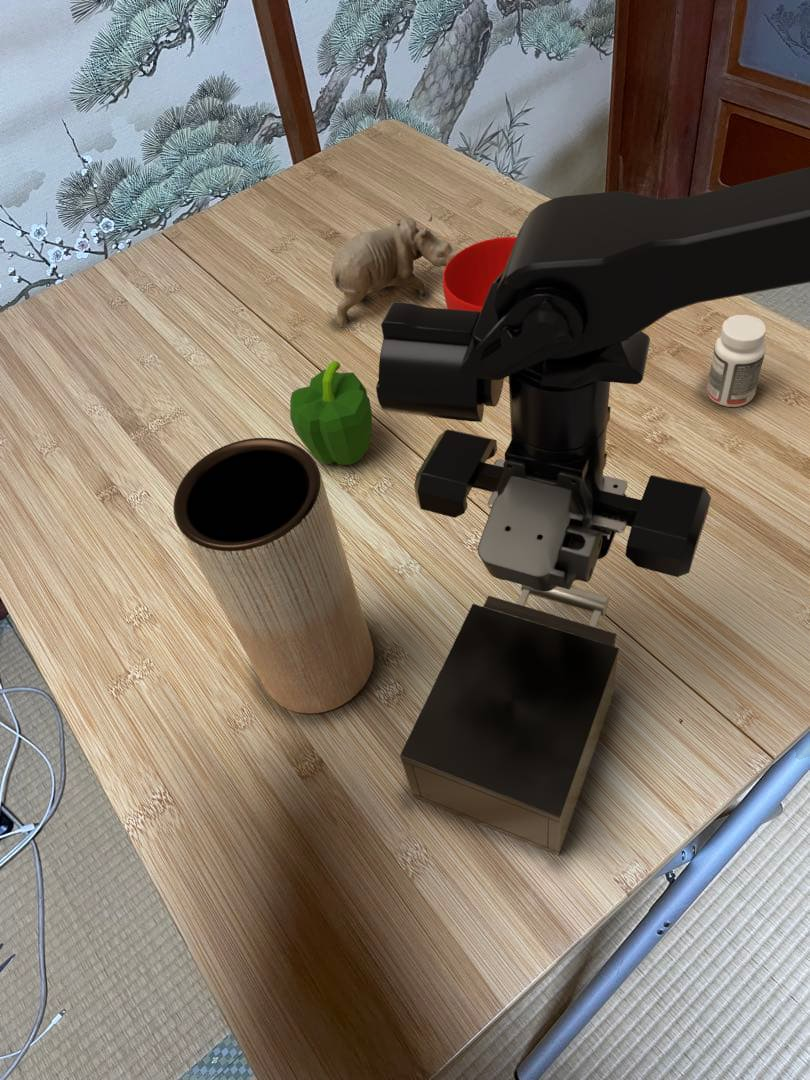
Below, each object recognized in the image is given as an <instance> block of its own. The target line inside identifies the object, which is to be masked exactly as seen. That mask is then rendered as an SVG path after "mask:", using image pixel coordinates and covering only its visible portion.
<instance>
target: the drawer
mask: <svg viewBox="0 0 810 1080" xmlns="http://www.w3.org/2000/svg"><path fill="white" fill-rule="evenodd" d="M520 592H521V593H520V595H519V597H518V600H517V601H516V602H512V601H508V600H505V599H501V598H499V597H495V596H491V595H487V598H486V600H485V602H484V604H483V606H482V607H485V608H488V609H492V610H495V611H498V612H502V613H505V614H508V615H511V616H515V617H518V618H521V619H525V620H528V621H531V622H534V623H538V624H541V625H544V626H548V627H551V628H554V629H557V630H561V631H564V632H567V633H571V634H574V635H577V636H580V637H584V638H587V639H590V640H594V641H597V642H600V643H603V644H607V645H610V646H613V647H616V644H617V643H616V642H617V637H618V636H617V633H616V632H612V631H609V630H605V629H602V628H599V627H598V624H599V622H600V619H601V617H604V616H605V615H606V613H607V610H608V607H609V604H610V603H609V602H610V597H609V596H608V595H604V594H600V593H596V592H594V591H590V590H586V589H582V588H579V587H575V586H573V585H572V586H571V588H570V590H569V589H565V588H562V587H558V586H557V587H556V588H554V589H553V590H550V591H539V590H536V589H533V588H531V587H528V586H524V585H521V584H520ZM530 596H533V597H537V598H539V599H540V598H541V599H543V600H547V601H550V602H554V603H557V604H561V605H565V606H567V607H571V608H575V609H578V610H581V611H585V612H588V613H592V614H591V617H590V619H589V622H588V624H585V623H582V622H578V621H576V620H572V619H569V618H566V617H562V616H559V615H555V614H551V613H550V612H549V613H548V612H545V611H542V610H538V609H535V608H532V607H528V606H526V604H527V602H528V600H529V597H530Z"/></svg>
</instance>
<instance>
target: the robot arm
mask: <svg viewBox="0 0 810 1080" xmlns="http://www.w3.org/2000/svg"><path fill="white" fill-rule="evenodd" d="M516 237H517V238H516V241H515V243H514V246H513V249H512V251H511V254H510V256H509V259H508V262H507V264H506V267H505V269H504V270H503V271H502V272H501V274H500V275H499V276H498V277H497V278H496V279H495V281H494V282H493V283H492V285H491V287H490V290H489V292H488V295H487V297H486V300H485V302H484V305H483V308H482V310H481V313H480V312H479V311H467V310H453V309H447V308H441V307H440V308H439V307H438V308H437V307H428V306H427V307H426V306H422V305H419V304H415V303H410V302H397V301H393V302H391V304H390V306H389V308H388V309H387V311H386V313H385V314H384V315H385V316H384V317H383V320H382V321H381V324H380V327H381V331H382V343H381V348H380V349H381V350H380V353H379V354H380V355H379V362H378V380H377V383H376V386H375V391H376V398H377V400H378V404H379V406H380V408H381V410H383V411H384V412H386V413H392V414H393V413H394V414H402V415H412V416H418V417H419V416H420V417H427V418H428V417H429V418H438V419H446V420H455V421H463V422H472V423H475V422H476V423H482V422H483V420H484V419H483V418H484V411H485V406H486V407H494V408H495V407H497V406H498V404H499V401H500V399H501V395H502V393H503V388H504V382H505V378H507V377H508V386H509V387H508V390H509V413H510V436H511V437H510V438H511V440H510V442H509V444H508V445H507V448H506V449H505V452H504V459H501V458H499V459H498V458H497V459H496V460H495V461H494V463H492V464H491V463H488V462H487V461H488V460H490V459H492V458H493V457H495V455H496V454H497V451H498V441H497V439H494V438H489V437H486V436H481V435H477V434H473V433H468V432H464V431H458V430H454V429H446V430H444V431H443V432H441V434H439V435H438V436H437V438H436V440H435V442H434V444H433V445H432V446H431V449H430V450H429V452H428V454H427V456H426V457H425V459H424V460H423V463H422V464H421V465H420V467H419V470H418V471H417V472H416V475H415V479H414V484H413V488H414V493H415V500H416V502H417V505H418V506H419V508H420V510H423V511H427V512H430V513H434V514H439V515H443V516H445V517H448V518H449V517H450V518H454V519H456V518H458V517H460V516H462V515H464V514H465V513H466V511H467V509H468V499H467V498H468V496H469V495H470V493H471V491H472V488H473V489H477V490H478V489H479V490H483V491H486V492H490V493H491V495H490V497H489V499H488V500H487V507H488V509H490V511H489V514H488V516H487V520H486V523H485V526H484V528H483V531H482V534H481V537H480V539H479V542H478V545H477V554H478V557H479V558H480V560H481V562H482V563H483V565H484V567H485V569H486V570H487V572H488V573H489V574H490V576H492V577H493V578H495V579H498V580H501V581H507V582H511V583H514V584H517V585H520V586H521V585H524V586H528V587H531V588H533V589H536V590H539V591H550V590H553V589H554V588H556V587H557V586H558V587H562V588H565V589H569V590H570V588H571V586H572V587H573V583H574V582H575V581H581V582H585V583H589V582H590V581H591V579H592V576H593V574H594V571H595V567H596V564H597V562H598V560H601V559H603V558H606V556H607V555H608V554H609V552H610V549H611V547H612V544H613V541H614V538H615V536H616V533H618V534H623V533H625V531H626V528H627V527H630V530H629V535H628V538H627V542H626V546H625V555H624V556H625V557H626V558H627V559H628V560H629V561H630V562H631V563H632V564H633V565H634V566H636V567H638V568H641V569H645V570H649V571H652V572H656V573H659V574H660V573H661V574H663V575H667V576H668V575H669V576H670V577H671V576H672V577H675V578H679V577H682V576H685V575H687V574H690V572H691V568H692V565H693V561H694V558H695V556H696V552H697V548H698V545H699V542H700V539H701V535H702V533H703V529H704V526H705V523H706V519H707V517H708V515H709V514H708V513H709V509H710V505H711V501H712V496H711V494H710V493H709V492H708V489H707V488H706V487H705V486H703V485H698V484H693V483H689V482H685V481H681V480H675V479H671V478H667V477H662V476H657V475H654V474H653V475H652V474H651V475H649V478H648V481H647V484H646V486H645V489H644V491H643V494H642V497H641V499H639V498H634V497H631V496H627V495H626V494H625V493H626V491H627V489H628V481H627V480H624V479H621V478H616V477H613V476H608V475H604V469H605V467H606V465H607V455H608V453H607V452H606V443H607V442H606V441H607V428H608V424H609V421H610V419H611V406H609V401H610V389H611V383H616V384H617V383H618V384H627V385H639V384H640V383H642V381H643V379H644V374H645V370H646V365H647V358H648V353H649V349H650V343H651V338H650V336H649V335H648V334H647V333H646V332H644V330H646V329H647V328H649V327H650V326H652V325H653V324H655V323H657V322H658V321H659V320H661V319H663V318H664V317H665V316H667V315H669V314H671V313H673V312H675V311H678V310H681V309H684V308H687V307H691V306H693V305H696V304H701V303H706V302H711V301H717V300H723V299H727V298H733V297H739V296H743V295H750V294H755V293H760V292H761V293H762V292H766V291H770V290H771V291H772V290H776V289H782V288H788V287H793V286H797V285H804V284H810V166H809V167H804V168H799V169H796V170H791V171H788V172H787V171H786V172H784V173H780V174H775V175H771V176H768V177H764V178H760V179H756V180H751V181H748V182H747V181H746V182H743V183H739V184H735V185H732V186H731V185H730V186H728V187H724V188H720V189H715V190H712V191H711V190H710V191H707V192H703V193H699V194H695V195H692V196H684V197H674V198H672V197H671V198H656V197H652V196H647V195H644V194H639V193H634V192H629V191H625V190H616V191H605V192H594V193H593V192H592V193H583V194H574V195H564V196H558V197H554V198H551V199H549V200H547V201H544V202H542V203H540V204H538V205H537V206H536V207H535V208H533V209H532V210H530V212H529V214H528V216H527V217H526V218H525V219H524V221H523V223H522V226H521V227H520V228H519V231H518V233H517V236H516Z"/></svg>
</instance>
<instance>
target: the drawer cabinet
mask: <svg viewBox="0 0 810 1080" xmlns="http://www.w3.org/2000/svg"><path fill="white" fill-rule="evenodd" d="M619 651H620V648H619V647H617V646H615V647H613V646H610V645H607V644H603V643H600V642H597V641H594V640H590V639H587V638H584V637H580V636H577V635H574V634H571V633H567V632H564V631H561V630H557V629H554V628H551V627H548V626H544V625H541V624H538V623H534V622H531V621H528V620H525V619H521V618H518V617H515V616H511V615H508V614H505V613H502V612H498V611H495V610H492V609H488V608H485V607H483V606H481V605H479V604H475V603H472V604H471V606H470V608H469V610H468V612H467V615H466V617H465V619H464V621H463V623H462V626H461V627H460V629H459V631H458V633H457V635H456V638H455V640H454V642H453V644H452V645H451V648H450V650H449V652H448V654H447V657H446V659H445V661H444V663H443V664H442V667H441V669H440V671H439V673H438V675H437V677H436V679H435V681H434V684H433V686H432V687H431V690H430V692H429V694H428V696H427V699H426V700H425V703H424V704H423V707H422V709H421V710H420V713H419V715H418V717H417V719H416V721H415V723H414V725H413V728H412V729H411V732H410V734H409V736H408V738H407V740H406V742H405V744H404V747H403V748H402V751H401V753H400V755H399V757H400V760H401V763H402V766H403V769H404V773H405V775H406V779H407V781H408V785H409V789H410V790H411V791H410V792H411V794H412V797H413V798H415V799H417V800H419V801H422V802H424V803H426V804H429V805H432V806H435V807H436V808H439V809H442V810H444V811H446V812H449V813H452V814H454V815H457V816H458V817H462V818H464V819H467V820H468V821H471V822H474V823H476V824H478V825H482V826H484V827H486V828H489V829H491V830H494V831H496V832H498V833H501V834H503V835H506V836H509V837H511V838H513V839H516V840H519V841H522V842H523V843H526V844H529V845H531V846H533V847H536V848H538V849H541V850H544V851H545V852H548V853H551V854H553V855H556V856H559V855H560V853H561V850H562V847H563V845H564V841H565V839H566V835H567V832H568V829H569V826H570V823H571V820H572V817H573V815H574V812H575V810H576V809H575V808H576V806H577V803H578V799H579V797H580V795H581V791H582V789H583V785H584V782H585V780H586V776H587V773H588V770H589V768H590V766H591V762H592V758H593V756H594V753H595V750H596V748H597V745H598V741H599V739H600V736H601V732H602V729H603V727H604V723H605V721H606V718H607V716H608V715H607V714H608V711H609V709H610V706H611V703H612V700H613V696H614V689H615V680H616V673H617V666H618V659H619V654H620V653H619Z"/></svg>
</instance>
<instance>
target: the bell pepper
mask: <svg viewBox="0 0 810 1080" xmlns="http://www.w3.org/2000/svg"><path fill="white" fill-rule="evenodd" d="M340 368H341V364H340V362H339V361H338V360H332V361H331V362H329V364H328V365H327V367H326V369H324V370H322V371H320V372H319V373H318V374H316V375H314V376H313V377H312V378H311V379H310V382H309V386H305V387H301V388H297V389H295V390H293V391H292V392H291V395H290V399H289V404H290V405H289V408H290V409H289V411H290V412H289V415H290V416H289V417H290V421H291V424H292V427H293V429H294V432H295V434H296V435H297V437H298V438H299V440H300V441H301V442H302V443H303V445H304V447H306V449H308V451H309V452H310V453H311V454H312V456H313V457H314V458H315V459H316V460H317V461H319V462H321V463H322V464H326V465H331V464H333V463H335V462H336V464H338V465H341V466H342V465H344V466H352V465H353V464H354V463H356V462H359V461H360V460H362V458H364V456H365V454H366V453H367V452H368V450H369V449H370V447H371V444H372V443H371V442H372V435H373V434H372V433H373V432H372V431H373V430H372V429H373V411H372V405H371V401H370V397H369V396H368V393H367V392H368V391H367V389H366V388H365V386H364V385H363V383H362V382H361V380H360V379H359V377H358V376H357V375H356V374H355V373H354V372H352V371H351V372H338V371H339V369H340Z"/></svg>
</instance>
